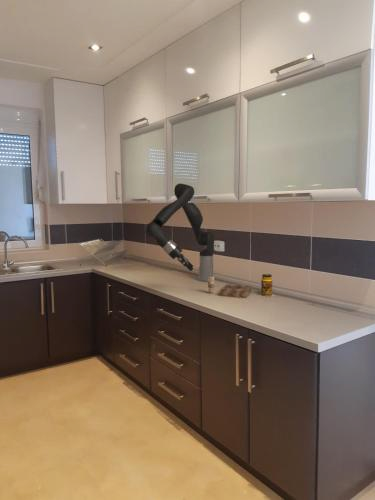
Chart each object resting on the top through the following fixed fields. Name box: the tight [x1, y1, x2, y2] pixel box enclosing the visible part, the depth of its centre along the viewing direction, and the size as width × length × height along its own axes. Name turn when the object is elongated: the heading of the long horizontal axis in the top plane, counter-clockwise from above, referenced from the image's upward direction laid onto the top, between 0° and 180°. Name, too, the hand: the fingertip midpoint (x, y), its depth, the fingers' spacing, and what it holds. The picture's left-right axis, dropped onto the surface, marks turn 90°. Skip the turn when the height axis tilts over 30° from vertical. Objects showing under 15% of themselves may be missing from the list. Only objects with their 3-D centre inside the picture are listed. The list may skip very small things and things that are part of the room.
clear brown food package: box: [219, 284, 253, 299], centre depth 225 cm, size 15×14×4 cm
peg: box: [207, 275, 215, 295], centre depth 228 cm, size 4×4×10 cm
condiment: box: [258, 273, 276, 298], centre depth 223 cm, size 7×8×12 cm
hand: (192, 268), depth 228 cm, fingers open, 8 cm apart
